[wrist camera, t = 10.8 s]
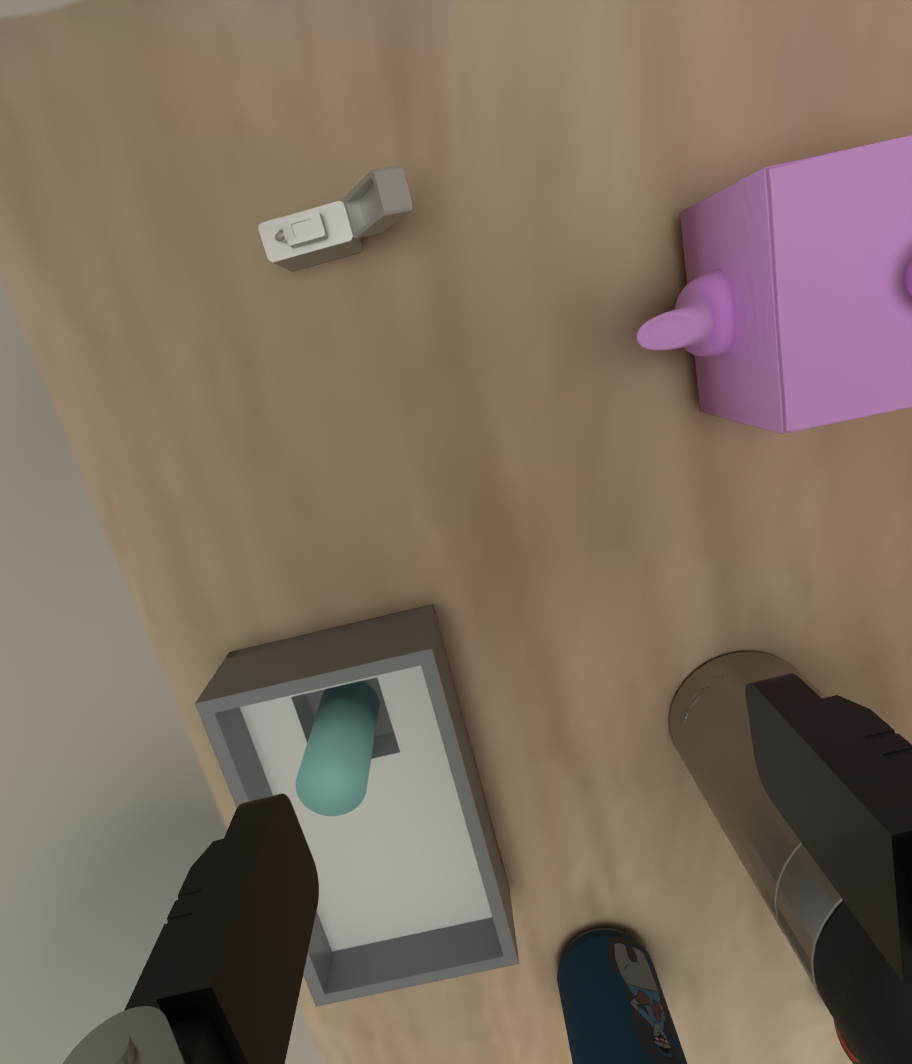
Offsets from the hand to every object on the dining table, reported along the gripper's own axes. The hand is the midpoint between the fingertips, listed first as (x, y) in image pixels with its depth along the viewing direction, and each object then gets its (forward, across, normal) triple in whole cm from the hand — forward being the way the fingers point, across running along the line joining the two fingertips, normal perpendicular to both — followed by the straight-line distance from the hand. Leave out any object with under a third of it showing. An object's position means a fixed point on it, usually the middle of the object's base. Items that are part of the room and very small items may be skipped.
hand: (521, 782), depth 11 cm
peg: (+27, +10, +12) cm, 32 cm away
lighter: (+28, +3, -13) cm, 31 cm away
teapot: (+28, -18, -5) cm, 34 cm away
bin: (+28, +10, +19) cm, 35 cm away
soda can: (+28, -1, +38) cm, 47 cm away
